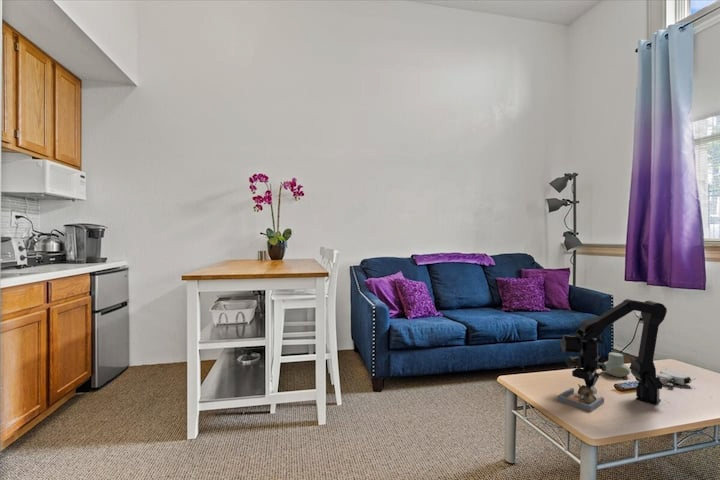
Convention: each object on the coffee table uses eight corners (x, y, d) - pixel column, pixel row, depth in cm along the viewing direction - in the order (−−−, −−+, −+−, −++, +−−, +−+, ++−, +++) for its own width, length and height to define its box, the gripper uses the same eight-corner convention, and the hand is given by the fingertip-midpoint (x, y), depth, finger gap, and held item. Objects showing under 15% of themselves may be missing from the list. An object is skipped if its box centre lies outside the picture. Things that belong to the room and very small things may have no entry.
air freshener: (606, 377, 171) (606, 355, 172) (599, 371, 180) (599, 350, 180) (633, 379, 169) (633, 357, 169) (624, 373, 177) (624, 352, 177)
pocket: (604, 402, 144) (604, 395, 144) (590, 412, 136) (590, 404, 136) (571, 392, 153) (571, 385, 153) (557, 400, 145) (557, 393, 145)
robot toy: (672, 392, 157) (697, 386, 161) (671, 382, 157) (697, 376, 160) (643, 381, 169) (667, 376, 172) (642, 372, 169) (667, 366, 172)
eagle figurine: (571, 391, 152) (572, 395, 144) (582, 378, 151) (584, 381, 143) (590, 405, 148) (591, 410, 140) (601, 392, 147) (603, 396, 139)
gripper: (578, 344, 162) (577, 379, 162) (558, 352, 151) (558, 390, 151) (606, 350, 153) (606, 387, 153) (588, 359, 142) (588, 399, 142)
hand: (589, 390), depth 150 cm, fingers closed
